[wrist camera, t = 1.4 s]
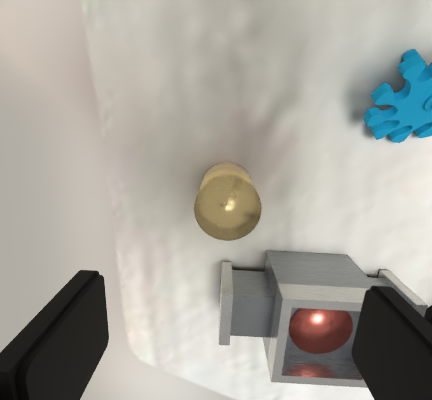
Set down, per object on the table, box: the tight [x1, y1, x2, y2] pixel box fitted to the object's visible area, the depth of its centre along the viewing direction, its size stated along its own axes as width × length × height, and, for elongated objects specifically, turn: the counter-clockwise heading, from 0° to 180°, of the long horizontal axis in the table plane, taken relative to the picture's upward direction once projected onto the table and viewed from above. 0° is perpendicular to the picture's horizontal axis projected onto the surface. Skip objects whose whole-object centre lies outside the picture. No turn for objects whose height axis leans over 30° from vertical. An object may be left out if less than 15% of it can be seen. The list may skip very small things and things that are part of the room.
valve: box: [219, 251, 428, 388], centre depth 26 cm, size 9×18×8 cm, turn 87°
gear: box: [364, 49, 432, 143], centre depth 21 cm, size 11×6×10 cm
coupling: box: [194, 163, 261, 240], centre depth 23 cm, size 5×5×7 cm
